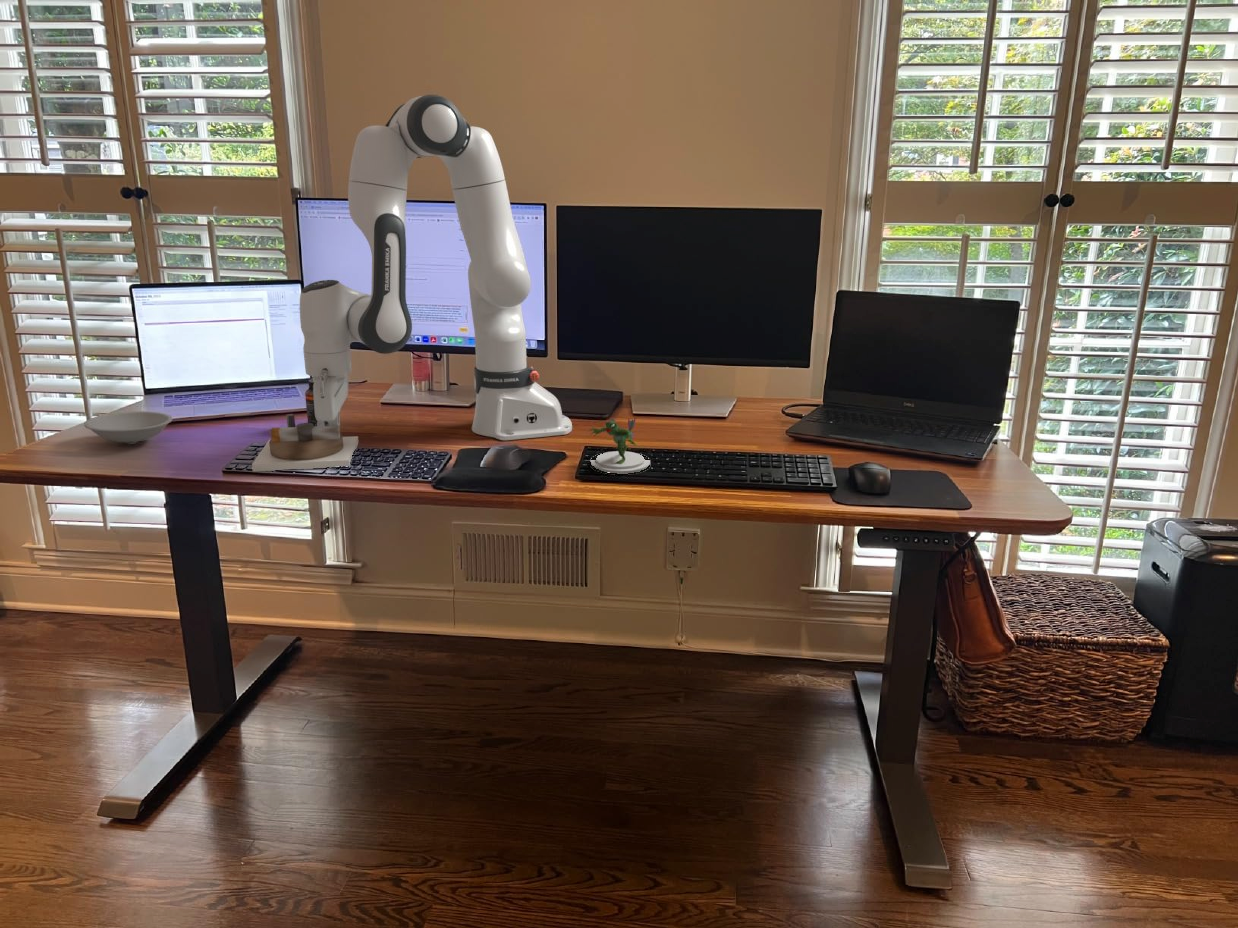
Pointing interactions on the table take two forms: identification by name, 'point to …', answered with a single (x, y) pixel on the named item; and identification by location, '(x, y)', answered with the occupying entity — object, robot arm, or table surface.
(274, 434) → the dial
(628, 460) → the monster figurine
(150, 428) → the dish
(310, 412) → the supplement bottle
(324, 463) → the dial base
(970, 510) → the table surface
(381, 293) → the robot arm
